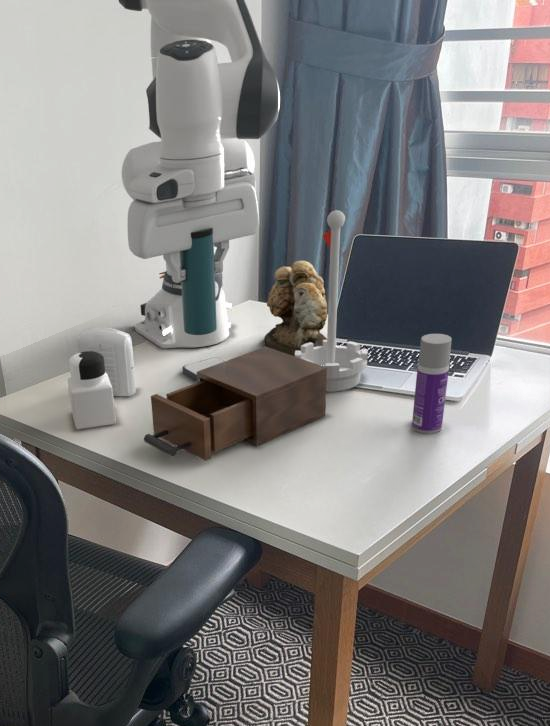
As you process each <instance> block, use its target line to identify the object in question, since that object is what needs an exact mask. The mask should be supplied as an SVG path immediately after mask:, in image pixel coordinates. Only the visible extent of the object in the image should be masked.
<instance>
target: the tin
mask: <svg viewBox="0 0 550 726" xmlns="http://www.w3.org/2000/svg"><path fill="white" fill-rule="evenodd" d="M191 238H192V246H191V248H190V249H187V250H183V251H179V254H180V267H181V268H183V269H186V275H185V276H186V281H183V282H181V287H182V304H183V321H184V331H185V333H187V334H191V335H205V334H209V333H212V332H214V331H215V330H216V329H217V324H216V297H215V270H214V244H213V228H210V229H205V230H201V231H196V232H191Z"/></svg>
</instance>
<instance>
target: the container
mask: <svg viewBox="0 0 550 726" xmlns="http://www.w3.org/2000/svg"><path fill="white" fill-rule="evenodd" d="M452 340H453V339H452V337H451V336H449V335H447V334H444V333H428V334H424V335H423V336H421V338H420V346H419V353H418V361H417V368H416V380H415V388H414V399H413V408H412V409H413V410H412V417H411V419H412V420H411V428H412V430H413V431H415V432H416V433H419V434H425V435H426V434H427V435H428V434H429V435H430V434H436V433H439V432H440V431H442V428H443V422H444V421H443V420H444V412H445V404H446V396H447V389H448V388H447V387H448V380H449V371H450V361H451V351H452V350H451V349H452Z"/></svg>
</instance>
